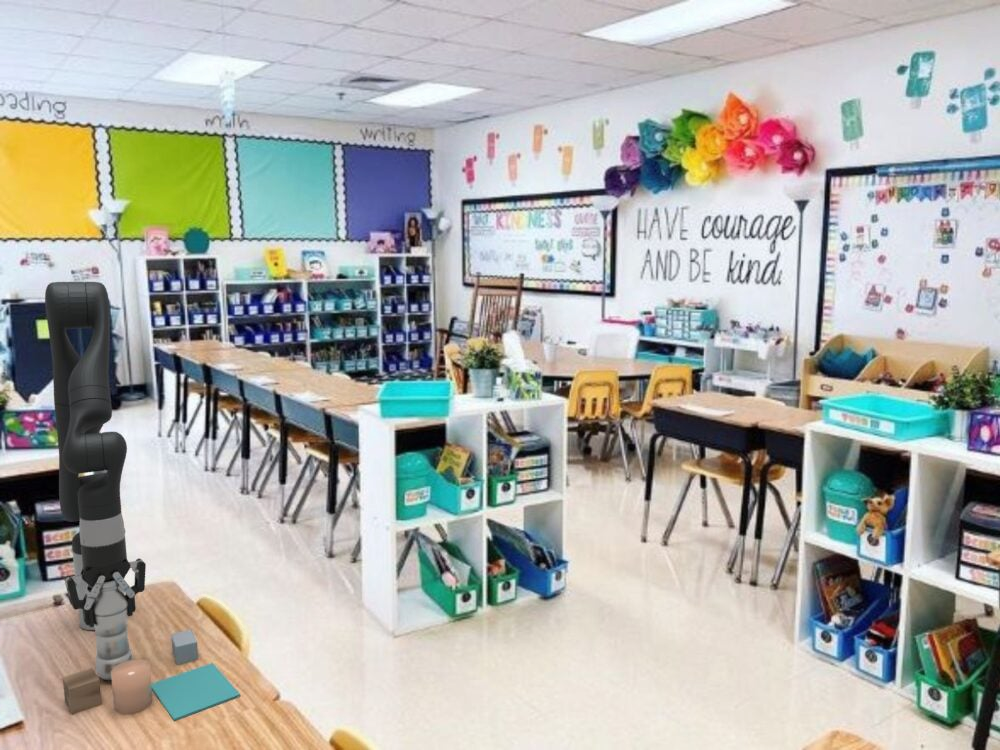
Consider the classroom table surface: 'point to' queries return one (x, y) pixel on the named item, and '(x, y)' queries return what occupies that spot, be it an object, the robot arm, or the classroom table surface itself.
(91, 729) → the classroom table surface
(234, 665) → the classroom table surface
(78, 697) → the walnut block
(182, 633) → the slate grey box
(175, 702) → the teal mat
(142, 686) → the beige domed cylinder
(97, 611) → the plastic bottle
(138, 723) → the classroom table surface
